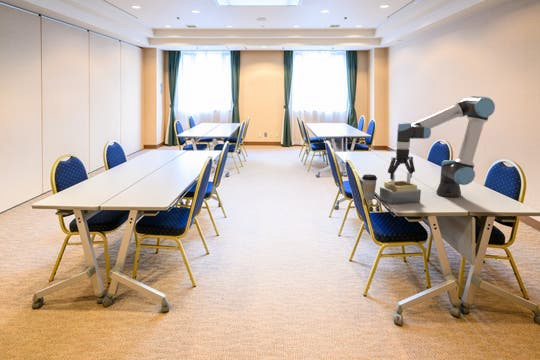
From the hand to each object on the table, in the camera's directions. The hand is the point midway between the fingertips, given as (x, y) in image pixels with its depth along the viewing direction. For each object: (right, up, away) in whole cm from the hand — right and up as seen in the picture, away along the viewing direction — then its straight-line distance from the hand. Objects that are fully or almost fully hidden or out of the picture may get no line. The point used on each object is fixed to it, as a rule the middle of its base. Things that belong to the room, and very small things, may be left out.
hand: (400, 183), depth 270 cm
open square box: (0, -11, +2) cm, 11 cm away
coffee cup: (-18, -10, +7) cm, 22 cm away
